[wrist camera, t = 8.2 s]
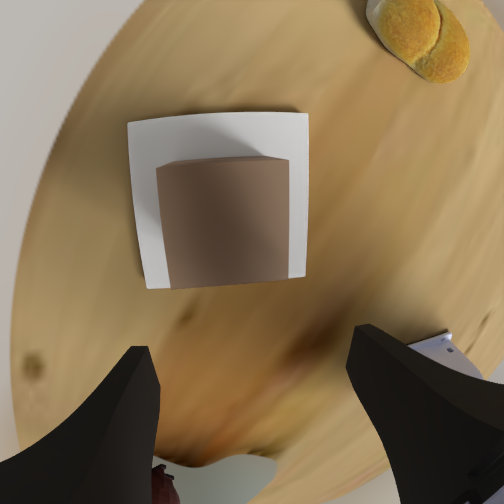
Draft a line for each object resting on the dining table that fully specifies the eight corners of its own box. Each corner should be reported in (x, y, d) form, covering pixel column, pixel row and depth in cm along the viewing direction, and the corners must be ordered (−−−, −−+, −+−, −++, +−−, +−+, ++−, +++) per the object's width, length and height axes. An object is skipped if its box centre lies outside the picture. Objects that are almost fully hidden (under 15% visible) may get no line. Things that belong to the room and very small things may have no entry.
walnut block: (265, 155, 15) (289, 160, 10) (266, 241, 17) (288, 279, 12) (173, 161, 14) (155, 168, 10) (181, 248, 16) (170, 289, 12)
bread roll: (444, 101, 16) (480, 100, 12) (352, 36, 14) (384, 17, 10) (456, 32, 13) (486, 25, 10) (374, -30, 11) (401, -49, 8)
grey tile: (303, 114, 15) (308, 113, 14) (301, 271, 19) (305, 276, 18) (131, 123, 14) (127, 122, 13) (149, 283, 18) (147, 289, 17)
